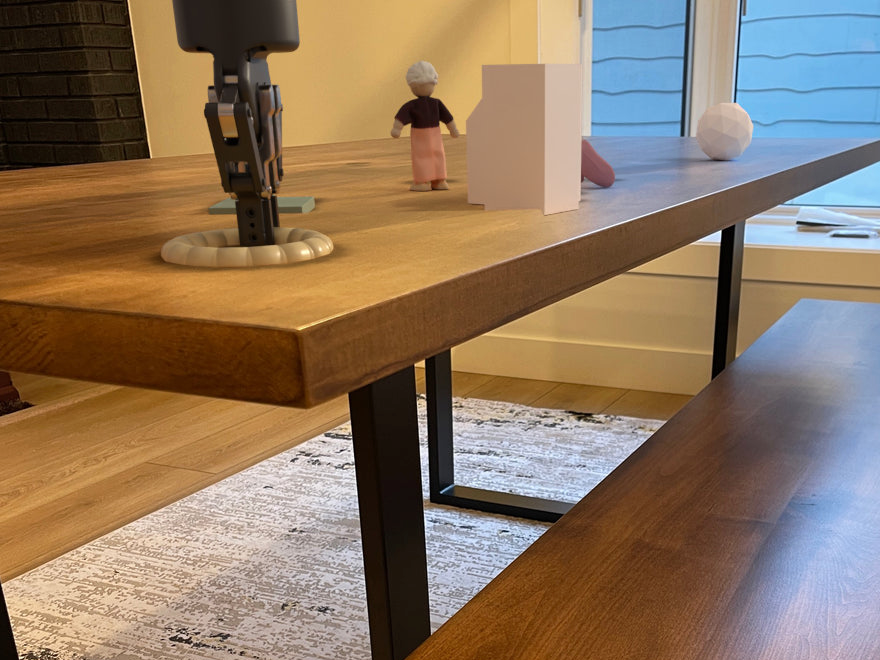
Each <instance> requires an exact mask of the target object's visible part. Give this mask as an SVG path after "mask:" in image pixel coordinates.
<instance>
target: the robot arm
mask: <svg viewBox="0 0 880 660" xmlns="http://www.w3.org/2000/svg"><path fill="white" fill-rule="evenodd" d="M171 3H172V11H173V18H174V25H175V34H176V39H177V41H176V42H177V45H178V47H179V48H180V50H181V51H183V52H185V53H189V54H211V55H212V58H213V61H212V67H213V68H212V70H213V84H212V85H211V84H210V85H207V102H205V104H204V109H203V116H204V119H205V121H206V125H207V128H208V132H209V137H210V141H211V144H212V149H213V153H214V157H215V161H216V165H217V168H218V173H219V177H220V183H221V187H222V189H223V192H224V193H225V194H228V195H229V196H230V198H231V199H232V200H237V201H235V206H236V214H235V215H236V222H237V223H236V224H237V228H238V232H239V241H240V245H239V247H257V246H270V245H276V244H275V240H274V229H273V227H281V223H280V214H279V212H278V202H277V197H278V195H279V194H280V189H281V182H283V177H284V176H285V175H284V173H285V172H284V169H283V111H284V107H283V103H282V97H281V88H280V85H279V84H272V80H271V75H270V69H269V64H268V63H269V62H268V61H267V59H268V56H269V55H271V54H284V53H294V52H295V51H297V50H298V48H299V47H300V43H301V42H300V41H301V40H300V29H299V16H298V5H297V4H298V3H297V0H171ZM273 194H274V196H273Z"/></svg>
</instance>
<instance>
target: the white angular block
mask: <svg viewBox="0 0 880 660" xmlns="http://www.w3.org/2000/svg"><path fill="white" fill-rule="evenodd" d="M583 68H584V65H583V64H581V63H511V64H509V63H507V64H506V63H505V64H504V63H503V64H481V99H480V100H479V101H478V103H477V104H476V106H475V107H474V108H473V110H472V112H471V113H470V115H468V117H467V118H466V120H465V139H466V145H465V146H466V179H467V181H466V182H467V204H471V205H472V204H473V205H482V206H484V210H483V211H516V210H517V211H518V210H519V211H520V210H521V211H525V210H526V211H527V210H529V211H531V210H540V211H541V214H542V215H543V216H549V215H553V214H559V213H564V212H569V211H570V212H571V211H576V210H579V208H580V207H579V206H580V202H581V190H582V188H581V185H582V183H581V137H583V135H582V132H583V131H582V130H583V127H582V126H583V80H584V79H583V75H584V73H583V72H584V69H583Z"/></svg>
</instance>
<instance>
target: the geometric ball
mask: <svg viewBox="0 0 880 660" xmlns="http://www.w3.org/2000/svg"><path fill="white" fill-rule="evenodd" d="M754 127H755V126H754V124H753V122H752V119H751V117H750V115H749V113H748V112H747V111H746V110H745V109H744V108H743V107H742V106H741V105H740V104H739V103H738V102H719V103H717V104H715V105H711V106H709V107H707V109H706V110H705V111H704V112H703V114H702V115H701V116H700V118H699V120H698V121H697V127H696V133H695V139H696V142H697V144H698V146H699V148H700V150H701V151H702V152H703V153H704V154H705V155H706V156H707V157H708V158H710V159H711V160H712V161H730V160H733V159H735V158H738V157H741V156H742V154H743V153H744V152H745V151H746V149H748V147H749V145H751V142H752V138H753V132H754Z"/></svg>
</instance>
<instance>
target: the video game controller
mask: <svg viewBox="0 0 880 660" xmlns="http://www.w3.org/2000/svg"><path fill="white" fill-rule="evenodd" d="M614 170H615V169H613V167H612V165H611V164H610V163H609V162H608V161H607V160H605V159H604V158H603V157H602V156H600V154H599V153H598V152H597V151H596V150H595V148H594V147H593V146H592V144H591V143H590V142H589V141H588V140H587V139H584V137H583V136H582V137H581V184H582V183H583V182H584V181H585V179H587V180H588V181H590V182H591V183H592V184H593V185H596V186H599V187H601V188H610V187H612V186H613V185H614V184H615V181H616V173H615V171H614Z"/></svg>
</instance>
